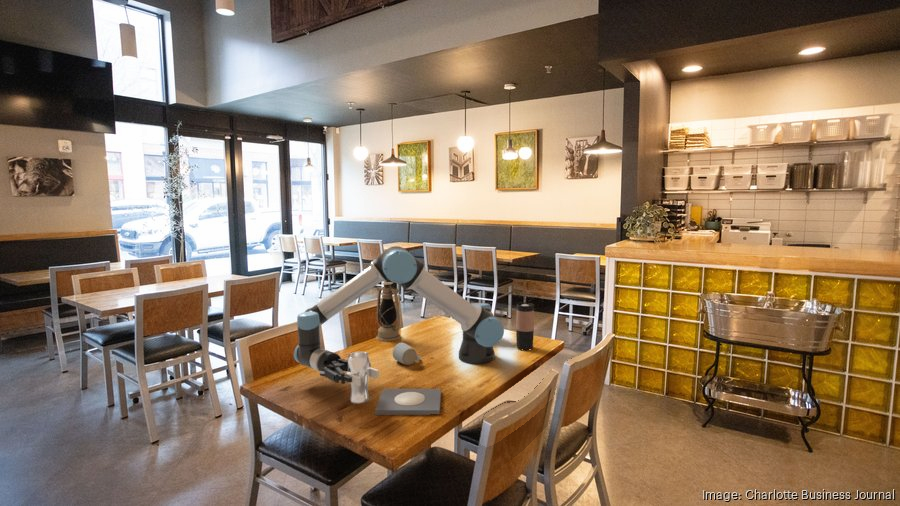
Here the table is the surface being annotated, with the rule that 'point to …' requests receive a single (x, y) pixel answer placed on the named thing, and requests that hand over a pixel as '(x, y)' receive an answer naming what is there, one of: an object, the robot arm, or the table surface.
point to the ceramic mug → (405, 354)
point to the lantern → (388, 314)
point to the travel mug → (525, 326)
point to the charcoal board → (409, 402)
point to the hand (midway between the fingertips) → (368, 378)
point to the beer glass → (361, 368)
